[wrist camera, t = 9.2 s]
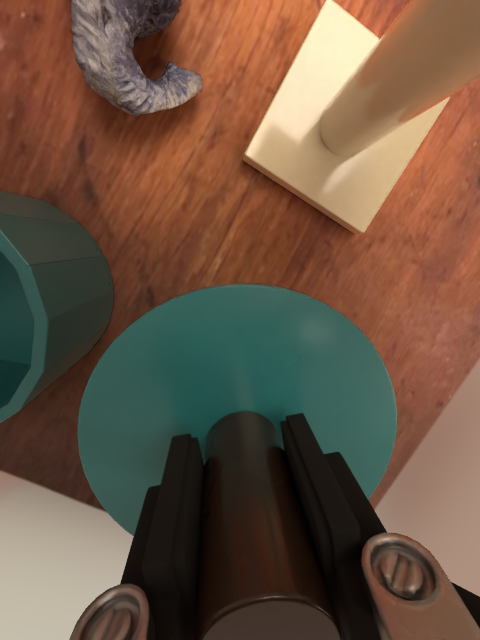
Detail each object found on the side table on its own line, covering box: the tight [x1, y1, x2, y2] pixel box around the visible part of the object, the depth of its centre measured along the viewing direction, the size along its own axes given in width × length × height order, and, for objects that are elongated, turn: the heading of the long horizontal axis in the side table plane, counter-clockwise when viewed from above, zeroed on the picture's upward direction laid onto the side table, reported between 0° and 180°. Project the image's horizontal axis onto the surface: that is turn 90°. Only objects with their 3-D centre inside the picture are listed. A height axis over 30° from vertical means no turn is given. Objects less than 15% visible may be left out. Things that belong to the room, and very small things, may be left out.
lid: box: [77, 282, 397, 640], centre depth 8 cm, size 11×11×7 cm
